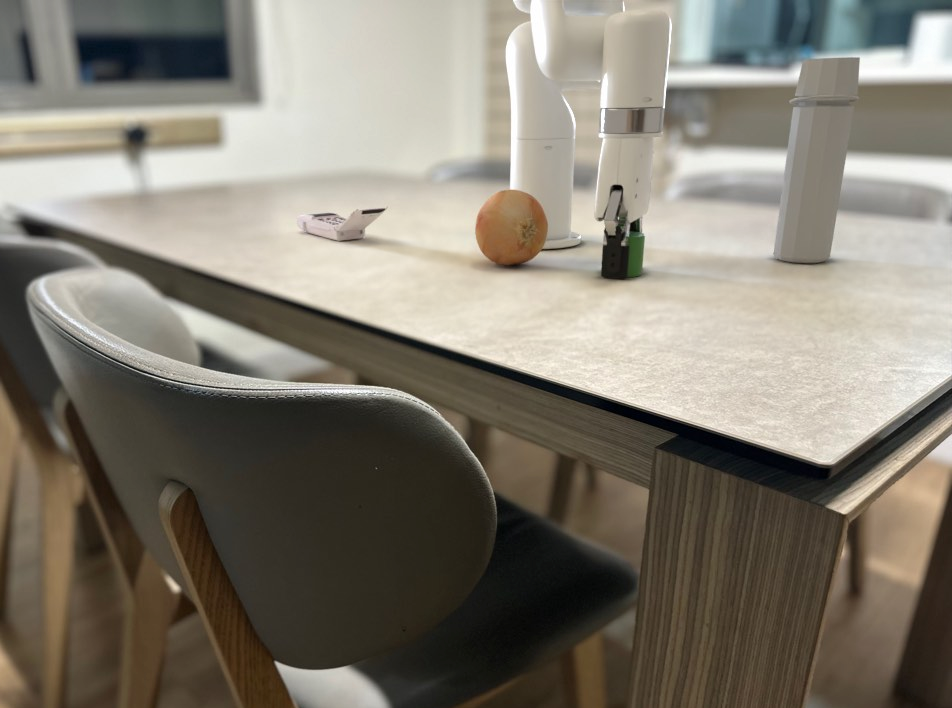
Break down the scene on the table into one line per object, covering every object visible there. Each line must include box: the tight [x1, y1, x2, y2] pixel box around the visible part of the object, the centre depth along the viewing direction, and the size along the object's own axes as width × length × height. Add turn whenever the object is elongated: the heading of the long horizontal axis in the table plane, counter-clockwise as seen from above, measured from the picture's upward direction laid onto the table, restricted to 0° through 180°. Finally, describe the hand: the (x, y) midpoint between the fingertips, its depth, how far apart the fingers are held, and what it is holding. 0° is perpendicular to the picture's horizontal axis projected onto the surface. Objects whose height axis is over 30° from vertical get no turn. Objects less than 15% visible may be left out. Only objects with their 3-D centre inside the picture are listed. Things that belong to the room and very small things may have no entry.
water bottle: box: [773, 56, 861, 264], centre depth 105 cm, size 9×8×25 cm
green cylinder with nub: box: [622, 229, 646, 278], centre depth 102 cm, size 5×5×6 cm
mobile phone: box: [296, 206, 389, 242], centre depth 136 cm, size 6×6×25 cm
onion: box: [474, 189, 548, 266], centre depth 108 cm, size 10×10×10 cm
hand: (620, 271), depth 104 cm, fingers open, 6 cm apart
